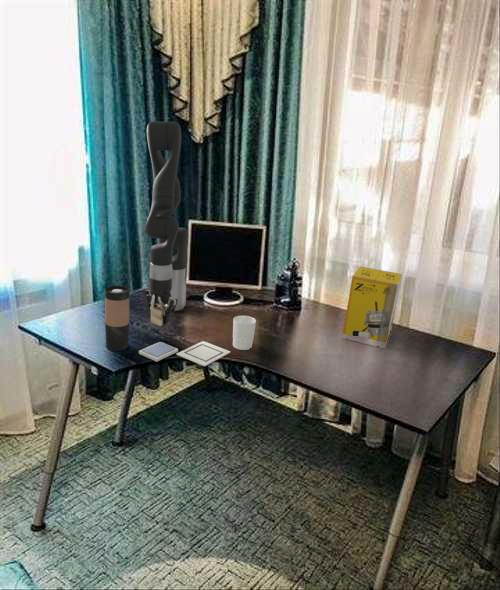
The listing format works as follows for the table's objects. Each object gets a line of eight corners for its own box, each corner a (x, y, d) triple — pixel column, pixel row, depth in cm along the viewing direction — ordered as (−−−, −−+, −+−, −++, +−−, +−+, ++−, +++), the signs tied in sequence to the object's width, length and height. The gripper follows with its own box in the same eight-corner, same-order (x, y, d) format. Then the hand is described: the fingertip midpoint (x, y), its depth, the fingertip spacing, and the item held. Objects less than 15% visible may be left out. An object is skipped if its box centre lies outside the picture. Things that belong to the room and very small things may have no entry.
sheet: (203, 341, 172) (203, 340, 172) (230, 352, 166) (230, 351, 166) (176, 354, 161) (176, 353, 160) (204, 366, 155) (204, 365, 154)
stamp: (159, 320, 173) (159, 304, 171) (169, 324, 171) (170, 308, 169) (149, 324, 169) (150, 308, 167) (160, 328, 167) (160, 312, 165)
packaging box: (385, 349, 180) (398, 284, 172) (341, 338, 185) (352, 276, 177) (390, 334, 194) (402, 274, 186) (350, 325, 200) (360, 266, 192)
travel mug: (133, 344, 165) (134, 288, 158) (120, 353, 158) (120, 295, 151) (114, 339, 167) (113, 284, 160) (100, 348, 160) (99, 290, 154)
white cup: (257, 345, 173) (259, 319, 170) (247, 353, 167) (250, 326, 163) (237, 339, 176) (239, 313, 173) (227, 347, 169) (229, 320, 166)
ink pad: (160, 344, 167) (160, 340, 166) (177, 351, 163) (178, 348, 162) (138, 353, 159) (138, 350, 158) (156, 361, 155) (156, 358, 154)
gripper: (184, 278, 163) (182, 325, 169) (153, 268, 170) (152, 313, 176) (169, 283, 157) (167, 331, 163) (137, 273, 164) (137, 319, 170)
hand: (159, 321), depth 170 cm, fingers closed on stamp, 4 cm apart
